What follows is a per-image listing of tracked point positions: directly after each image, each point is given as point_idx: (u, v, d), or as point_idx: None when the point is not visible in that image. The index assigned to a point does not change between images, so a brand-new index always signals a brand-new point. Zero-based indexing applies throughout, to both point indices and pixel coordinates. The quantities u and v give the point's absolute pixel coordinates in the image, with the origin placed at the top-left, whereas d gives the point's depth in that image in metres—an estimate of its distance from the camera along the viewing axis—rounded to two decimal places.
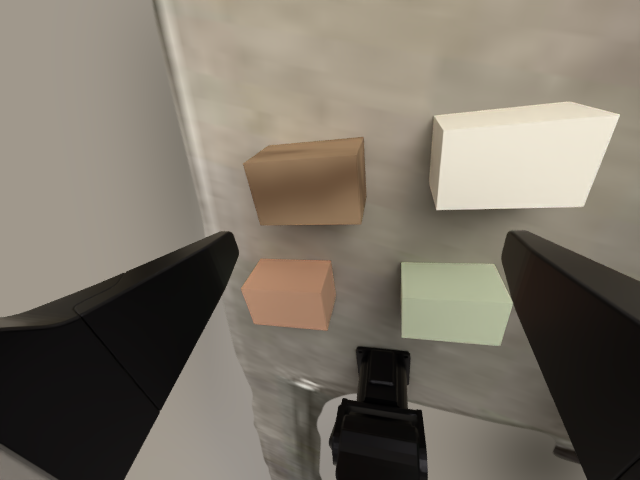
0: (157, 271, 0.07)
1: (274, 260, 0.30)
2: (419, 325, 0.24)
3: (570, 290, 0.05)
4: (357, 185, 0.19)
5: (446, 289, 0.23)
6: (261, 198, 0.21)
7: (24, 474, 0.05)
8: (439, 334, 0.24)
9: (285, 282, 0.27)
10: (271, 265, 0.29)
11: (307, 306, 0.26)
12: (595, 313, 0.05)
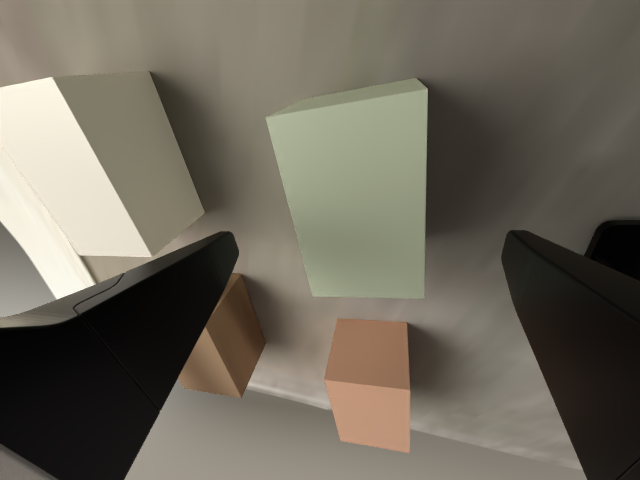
0: (157, 271, 0.07)
1: None
2: (376, 271, 0.12)
3: (570, 290, 0.05)
4: None
5: None
6: (211, 388, 0.21)
7: (24, 474, 0.05)
8: (401, 236, 0.10)
9: None
10: None
11: (356, 397, 0.17)
12: (595, 313, 0.05)
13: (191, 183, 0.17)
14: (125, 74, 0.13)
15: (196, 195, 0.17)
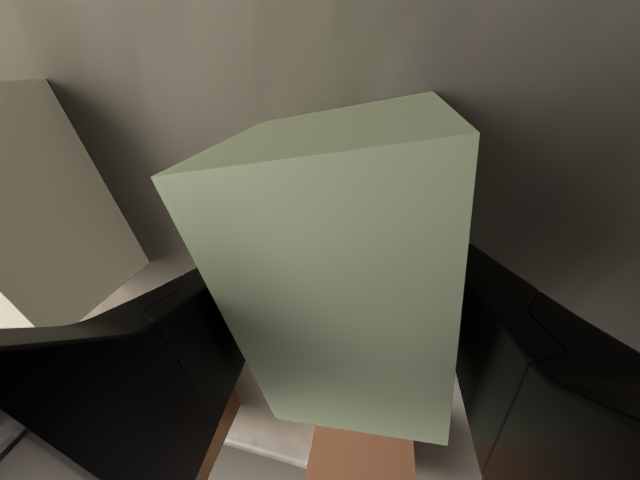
0: None
1: None
2: (371, 406, 0.07)
3: None
4: None
5: None
6: None
7: None
8: (412, 370, 0.06)
9: None
10: None
11: None
12: (475, 306, 0.05)
13: (126, 227, 0.13)
14: None
15: (135, 241, 0.13)
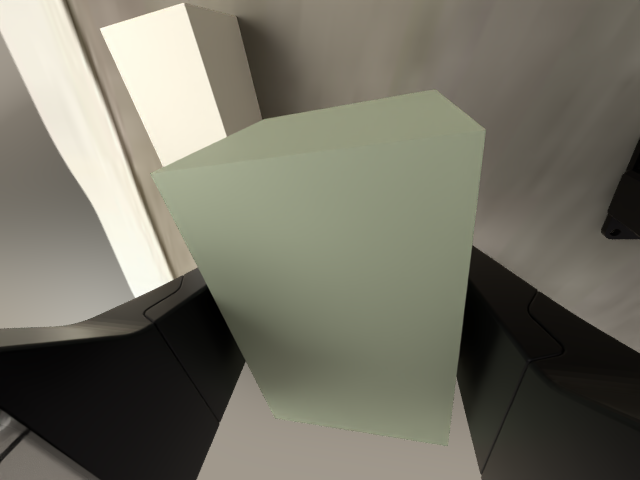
0: None
1: None
2: (371, 406, 0.07)
3: None
4: None
5: None
6: None
7: None
8: (413, 370, 0.06)
9: None
10: None
11: None
12: (474, 306, 0.05)
13: None
14: (223, 14, 0.15)
15: None
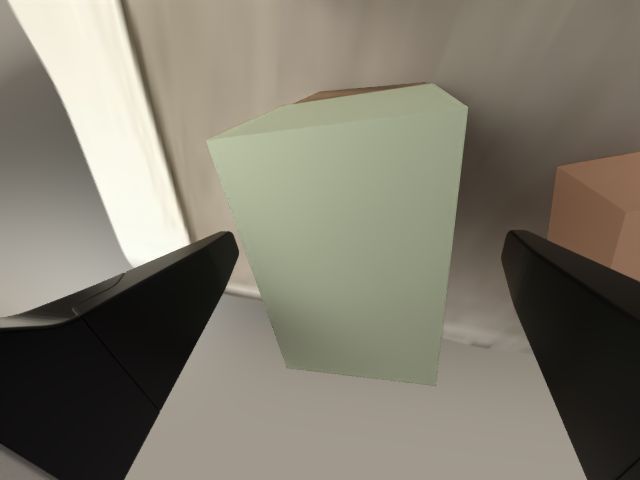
0: (157, 271, 0.07)
1: None
2: (372, 350, 0.08)
3: (570, 290, 0.05)
4: None
5: None
6: None
7: (24, 474, 0.05)
8: (409, 312, 0.07)
9: None
10: None
11: None
12: (595, 313, 0.05)
13: None
14: None
15: None
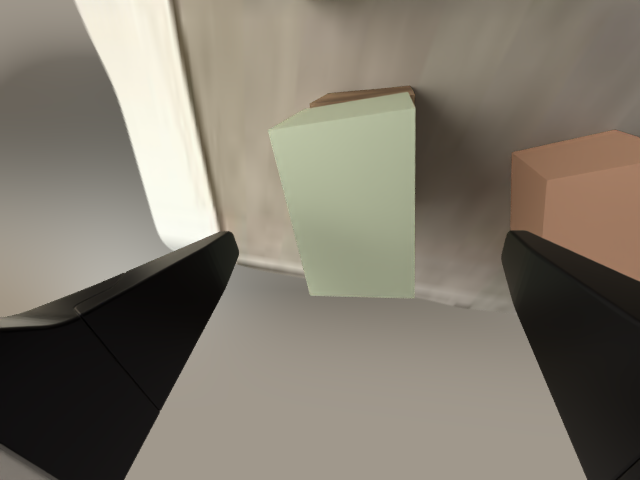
0: (157, 271, 0.07)
1: None
2: (370, 272, 0.12)
3: (570, 290, 0.05)
4: None
5: None
6: None
7: (24, 474, 0.05)
8: (392, 240, 0.11)
9: (532, 232, 0.16)
10: None
11: (590, 200, 0.13)
12: (595, 313, 0.05)
13: None
14: None
15: None
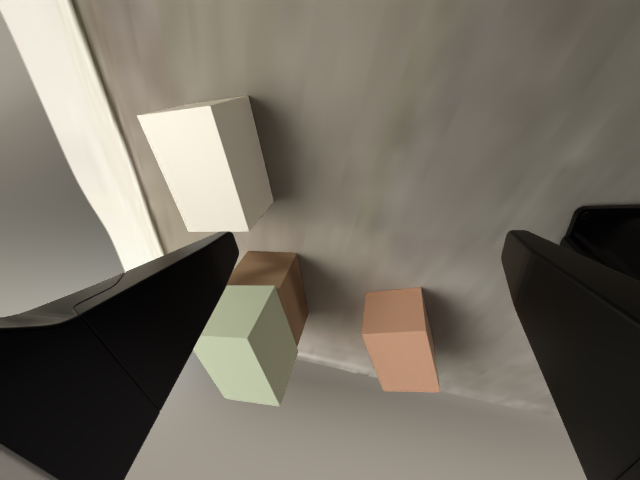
0: (157, 271, 0.07)
1: None
2: (252, 392, 0.21)
3: (570, 290, 0.05)
4: None
5: None
6: None
7: (24, 474, 0.05)
8: (258, 381, 0.20)
9: None
10: None
11: (387, 345, 0.23)
12: (595, 313, 0.05)
13: (267, 178, 0.22)
14: (238, 99, 0.18)
15: (269, 187, 0.22)
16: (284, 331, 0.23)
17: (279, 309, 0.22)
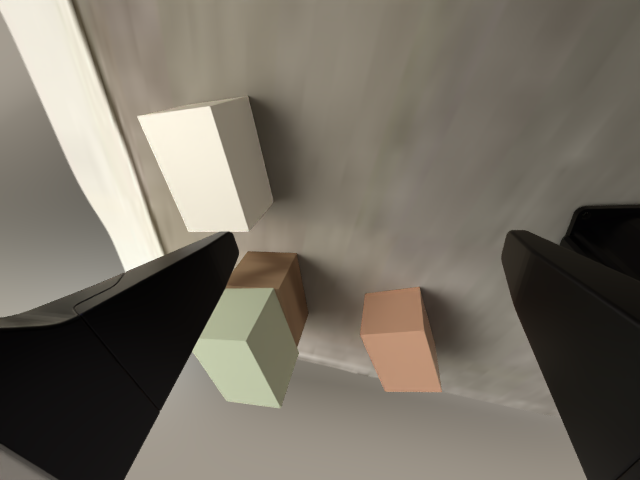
0: (157, 271, 0.07)
1: None
2: (253, 395, 0.22)
3: (570, 290, 0.05)
4: (244, 287, 0.22)
5: None
6: None
7: (24, 474, 0.05)
8: (258, 383, 0.20)
9: None
10: None
11: (387, 345, 0.23)
12: (595, 313, 0.05)
13: (267, 179, 0.22)
14: (238, 99, 0.18)
15: (269, 188, 0.22)
16: (283, 333, 0.23)
17: (279, 311, 0.22)
